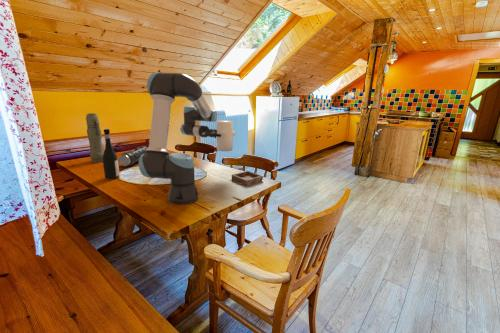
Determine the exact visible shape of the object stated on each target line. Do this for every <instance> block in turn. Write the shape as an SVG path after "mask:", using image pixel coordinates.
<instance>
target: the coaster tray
mask: <svg viewBox="0 0 500 333" xmlns="http://www.w3.org/2000/svg"><path fill="white" fill-rule="evenodd" d="M263 178H264V176H263V175H261V174H257V173H256V172H253V171H249V170H245V171H242V172H237V173H232V174H231V180H232V181H233V182H236V183H238V184H241V185H243V186H246V187H250V186H252V185H255V184H258V183H261V182H260V181H262V180H263V181H264V179H263ZM263 181H262V182H263ZM257 182H258V183H257Z"/></svg>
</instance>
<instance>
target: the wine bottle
mask: <svg viewBox="0 0 500 333" xmlns="http://www.w3.org/2000/svg"><path fill="white" fill-rule="evenodd" d="M103 133H104V140H105V149H104V150H103V152H104V155H103V162H102V166H103V171H104V172H103V173H104V178H105V179H107V180H114V179H115V180H116V179H118V178H119V177H120V168H119V158H118V156H117V153H116V151H115V150H114V149H113V146H112V143H111V134H110V133H111V132H110V129H109V128H105V129H103Z"/></svg>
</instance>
